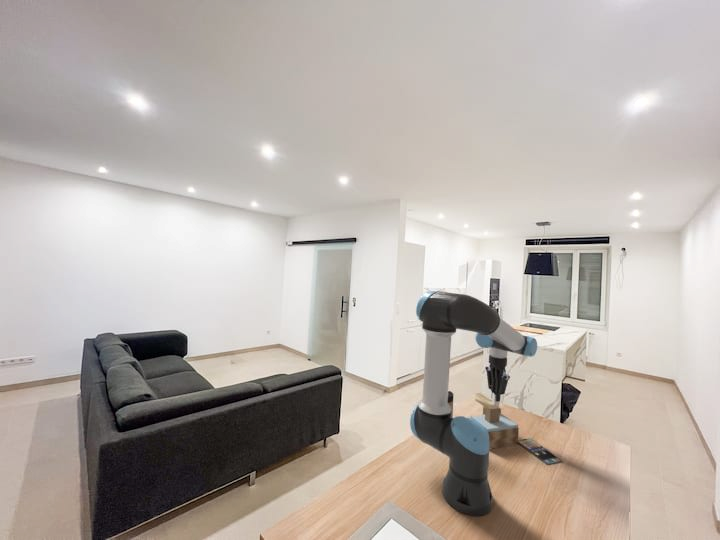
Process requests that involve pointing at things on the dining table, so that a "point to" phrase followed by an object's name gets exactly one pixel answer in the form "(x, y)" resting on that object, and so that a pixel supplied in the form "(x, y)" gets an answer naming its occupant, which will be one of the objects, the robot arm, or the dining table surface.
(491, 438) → the open wooden box
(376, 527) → the dining table surface
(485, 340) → the robot arm
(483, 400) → the beige rectangular block
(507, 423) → the lid
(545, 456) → the smartphone
